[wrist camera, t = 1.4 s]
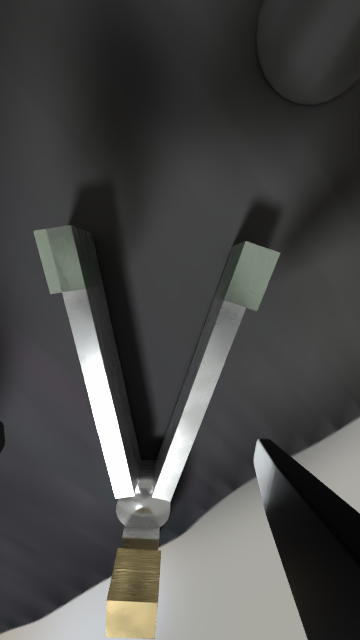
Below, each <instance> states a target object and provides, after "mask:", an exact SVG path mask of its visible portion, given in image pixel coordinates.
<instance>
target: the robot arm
mask: <svg viewBox="0 0 360 640" xmlns="http://www.w3.org/2000/svg"><path fill="white" fill-rule="evenodd" d="M4 445H5V434H4V425H3V423H2V422H1V421H0V453H1V451H2V449H3V447H4ZM254 466H255V471H256V475H257V479H258V483H259V488H260V492H261V495H262V500H263V505H264V509H265V512H266V516H267V519H268V522H269V525H270V528H271V531H272V534H273V537H274V540H275V543H276V546H277V549H278V552H279V555H280V558H281V561H282V564H283V567H284V570H285V573H286V576H287V579H288V582H289V585H290V588H291V591H292V594H293V597H294V600H295V603H296V606H297V609H298V612H299V615H300V618H301V621H302V624H303V627H304V630H305V633H306V636H307V639H308V640H360V514H359V513H358V512H357V511H356V510H355V509H354V508H352V507H351V506H350V505H349V504H347V503H346V502H345V501H344V500H343V499H341V498H340V497H339V496H338V495H336V494H335V493H334V492H333V491H332V490H331V489H329V488H328V487H327V486H326V485H324V484H323V483H322V482H321V481H320V480H318V479H317V478H316V477H315V476H314V475H312V474H311V473H310V472H309V471H308V470H306V469H305V468H304V467H303V466H301V465H300V464H299V463H298V462H297V461H295V460H294V459H293V458H292V457H291V456H289V455H288V454H287V453H286V452H285V451H283V450H282V449H281V448H280V447H278V446H277V445H276V444H275V443H274V442H272V441H271V440H270V439H258V440H257V443H256V448H255V454H254Z"/></svg>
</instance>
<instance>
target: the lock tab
mask: <svg viewBox="0 0 360 640" xmlns="http://www.w3.org/2000/svg"><path fill="white" fill-rule="evenodd" d="M160 559H161V551H160V550H142V549H124V548H118V550H117V555H116V560H115V564H114V569H113V574H112V578H111V583H110V588H109V593H108V597H107V617H106V637H121V638H143V639H155V630H156V618H157V607H158V593H159V577H160V576H159V575H160Z"/></svg>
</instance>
